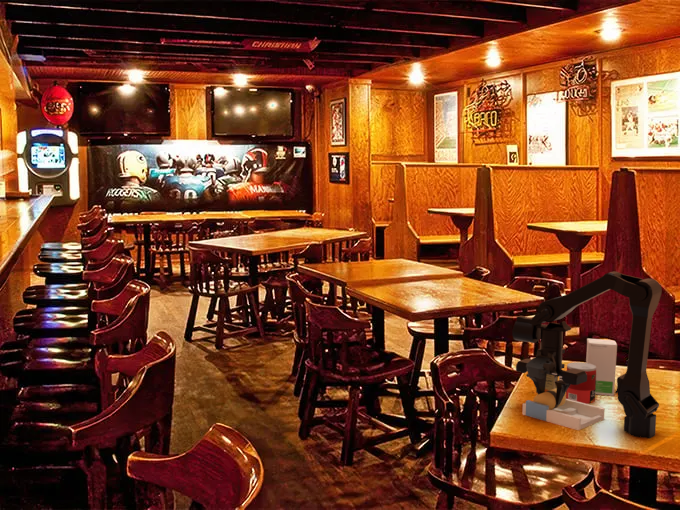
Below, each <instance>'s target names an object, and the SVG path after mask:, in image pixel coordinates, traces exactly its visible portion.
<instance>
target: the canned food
mask: <svg viewBox="0 0 680 510" xmlns="http://www.w3.org/2000/svg"><path fill="white" fill-rule="evenodd" d="M573 368H574V369H578V370H583V371H585V372H586V374H587V381H586V382H583V383H580V384H578V385H572V384H571V385H570V386H569V388H568V389H567V391H566V393H565V396H566V399H570V400H573V401H577V402H581V403H585V404H589V405H591V404H594V403H595V402H596V394H595V391H596V366H595V365H592V364H589V363H586V362H581V361H580V362H579V361H578V362H576V361H575V362H569V363H567V365H566V371H567V370H570V369H573Z"/></svg>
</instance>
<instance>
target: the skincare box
mask: <svg viewBox="0 0 680 510" xmlns="http://www.w3.org/2000/svg"><path fill="white" fill-rule="evenodd" d="M617 352H618V344H617V342H616V340H611V339H601V338H589V337H588V338H586V358H585V363H589V364H592V365H595V366H596V391H595V395H601V396H602V395H603V396H611V397H613V396H615V388H616V387H615V383H616V369H617V354H618V353H617Z"/></svg>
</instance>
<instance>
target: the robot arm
mask: <svg viewBox="0 0 680 510" xmlns="http://www.w3.org/2000/svg"><path fill="white" fill-rule="evenodd" d="M610 290H612V291H614V292H615V293H618V294H619V295H622V296H624V297H626V298H628V302H629V308H630V312H631V314H632V320H631V330H630V337H629V338H630V339H629V346H628V347H629V348H628V356H627V357H628V358H627V366H626V371H625V373H624V374H622V375H619V376H618V377H617V378H616V390H615V391H614V394H617V401H618V402H619V403H620V404H621V406H622V408H623V410H624V411H623V412H624V414H625V416H624V420H623V432H625V433H627V434H629V435H630V436H632V437H636V438H642V439H651V438H654V437H655V436H656V427H657V426H656V424H657V414H654V413H656V412H657V410H658V408H659V407H660V403H659V402H658V401H657V400H656V399H655V397H654V396H653V395H652V394H651V387H650V380H649V376H648V373H647V365H648V357H649V348H650V341H651V330H652V324H653V323H652V321H653V315H654V314H655V312H656V310H657V308H658V306H659V303H660V300H661V296H662V293H663V289H662V286H661V284H660V283H659V282H658V281H657V280H656V279H653V278H645V279H643V278H641V277H637V276H632V275H627V274H623V273H621V272H618V271H610V272H607V273H605V274H604V275H602V276H601V277H599V278H597V279H595V280H593V281H591V282H589V283H587V284H585V285H582V286H581V287H579V288H577V289H575V290H573V291H571V292H570V293H568V294H565V295H561V296H558V297H553V298H550V299H547V300H544V301H542V302H541V303H539V305H538V308H537V312H536V313H535V315H534V316H533V317H527V316H524V315H519V316H516V320H515V322H514V324H513V326H512V327H513V328H512V329H511V330H512V331H511V334H512V338H513V340H514V341H519V342H526V343H531V344H536V343H537V342H538V341H540V342H539V343H540V345H539V346H540V347H539V348H538V349H537V351H536V354H535V357H533V358H525V359H522V360H518V361H517V362H516V364H515V372H517V373H520V374H525V373H526V374H525V376H526V377H527V378H529V379H530V380H531V381H532V383H533V385H534V387H535V390H537V393H536V394H537V395H538V394H541V393H544V392H545V385H546V376H547V374H548V375H554V376H558V381H555V384H556V386H557V391H556V404H557V405H559V404H560V403H561V401H562V399H563V397H564V395H565V396H566V391H567V389H568V388H569V386H570V385H571V384H572V385H578V384H580V383H583V382H586V381H587V374H586V372H585V371H583V370H578V369H574V368H573V369H570V370H567V369H566V370H564V369H565V364H564V363H563V354H565V353H566V348H563V342H564V341H563V339H564V338H563V337H564V333H566V332H569V331H571V330H572V327H571V326H570V325H569V324H567V322H566V321H564V320H563V321H561V322H559V323H556V322H555V321H558V320H561V319H564V317H566V316H567V315H569V314H570V313H571V312H572V311H573V310H575V308H577V307H578V306H579V305H581V304H583V303H586V302H588V301H590V300H592V299H594V298H596V297H598V296H600V295H603V294H604V293H607V292H608V291H610ZM544 323H548V324H544Z"/></svg>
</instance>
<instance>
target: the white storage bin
mask: <svg viewBox="0 0 680 510" xmlns="http://www.w3.org/2000/svg"><path fill="white" fill-rule="evenodd" d="M522 415H523V416H527V417H531V418H532V419H533V418H534V419H537V420H541V421H544V422H548V423H551V424H554V425H559V426H561V427H566V428H569V429H572V430H577V431H580V430H582V429H586V428H587V427H589V426H592V425H594V424H597V423H599V422H601V421H604V420H605V408H604V407H601V406H597V405H592V404H585V403H581V402H577V401H573V400H570V399H566V401H565V403H564V404H563V405H562V406H559V407H557V408H554V409H552V410H550V409H549V405H545V404H541V403H537V402H534V400H529V399H527V400H525V402H524V403H522Z"/></svg>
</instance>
